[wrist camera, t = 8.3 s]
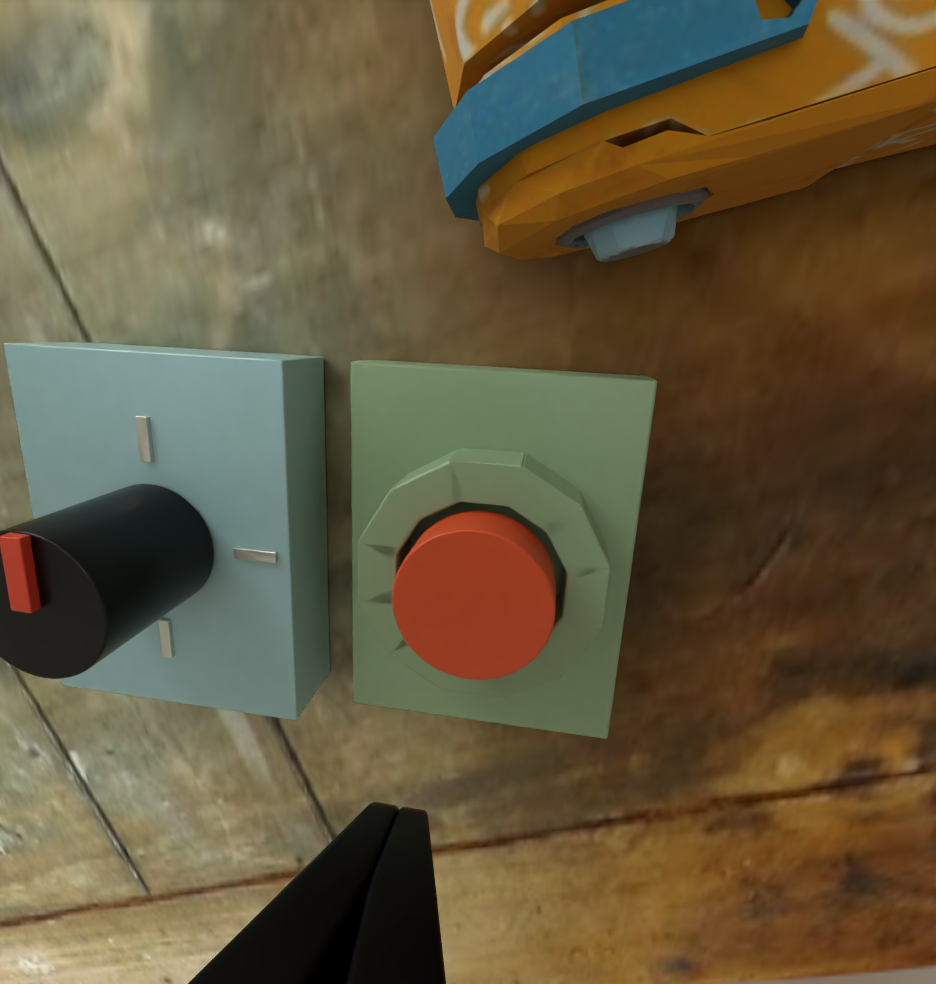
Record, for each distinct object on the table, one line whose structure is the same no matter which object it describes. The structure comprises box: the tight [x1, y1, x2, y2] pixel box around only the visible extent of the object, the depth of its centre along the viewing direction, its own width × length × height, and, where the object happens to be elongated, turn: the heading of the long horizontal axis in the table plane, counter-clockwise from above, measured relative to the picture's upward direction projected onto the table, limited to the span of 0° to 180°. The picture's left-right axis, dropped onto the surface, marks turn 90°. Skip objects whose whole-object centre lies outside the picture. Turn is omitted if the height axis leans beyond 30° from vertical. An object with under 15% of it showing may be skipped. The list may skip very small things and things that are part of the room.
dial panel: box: [4, 342, 330, 720], centre depth 19 cm, size 9×12×3 cm
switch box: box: [351, 359, 657, 739], centre depth 18 cm, size 9×12×4 cm
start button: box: [392, 510, 556, 680], centre depth 16 cm, size 4×4×2 cm
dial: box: [0, 484, 214, 679], centre depth 16 cm, size 4×4×5 cm
